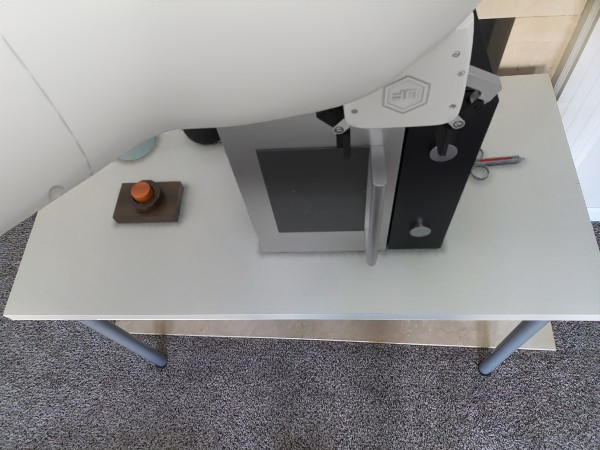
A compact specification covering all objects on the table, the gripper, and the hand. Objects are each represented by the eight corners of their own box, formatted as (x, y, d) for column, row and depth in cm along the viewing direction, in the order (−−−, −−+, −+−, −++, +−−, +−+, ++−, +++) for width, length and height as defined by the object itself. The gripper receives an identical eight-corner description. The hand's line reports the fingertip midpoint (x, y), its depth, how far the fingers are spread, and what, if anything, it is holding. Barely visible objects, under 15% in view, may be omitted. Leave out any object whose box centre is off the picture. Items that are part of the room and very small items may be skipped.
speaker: (185, 126, 97) (170, 91, 88) (230, 114, 97) (218, 78, 89) (192, 160, 92) (176, 127, 83) (239, 147, 92) (228, 113, 84)
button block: (177, 222, 84) (170, 211, 81) (117, 223, 86) (107, 212, 82) (184, 187, 88) (177, 175, 85) (126, 189, 90) (117, 177, 86)
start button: (151, 202, 83) (147, 197, 81) (132, 203, 83) (128, 198, 82) (155, 186, 85) (151, 181, 83) (136, 187, 85) (133, 182, 83)
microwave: (440, 253, 76) (501, 104, 46) (262, 255, 79) (210, 118, 49) (421, 120, 91) (458, -58, 61) (272, 126, 94) (237, -40, 64)
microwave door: (387, 281, 74) (414, 149, 44) (260, 282, 76) (204, 156, 47) (384, 242, 78) (407, 95, 48) (263, 244, 80) (213, 105, 50)
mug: (164, 134, 96) (145, 100, 87) (137, 166, 92) (115, 133, 84) (116, 116, 100) (94, 82, 92) (89, 145, 97) (64, 112, 88)
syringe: (538, 177, 82) (542, 171, 80) (440, 185, 83) (441, 180, 82) (526, 144, 86) (529, 138, 84) (432, 153, 87) (433, 147, 85)
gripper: (290, 36, 31) (310, 179, 46) (552, 18, 29) (484, 173, 44) (294, -28, 34) (311, 123, 49) (526, -47, 33) (471, 116, 48)
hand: (392, 147), depth 47 cm, fingers open, 9 cm apart
